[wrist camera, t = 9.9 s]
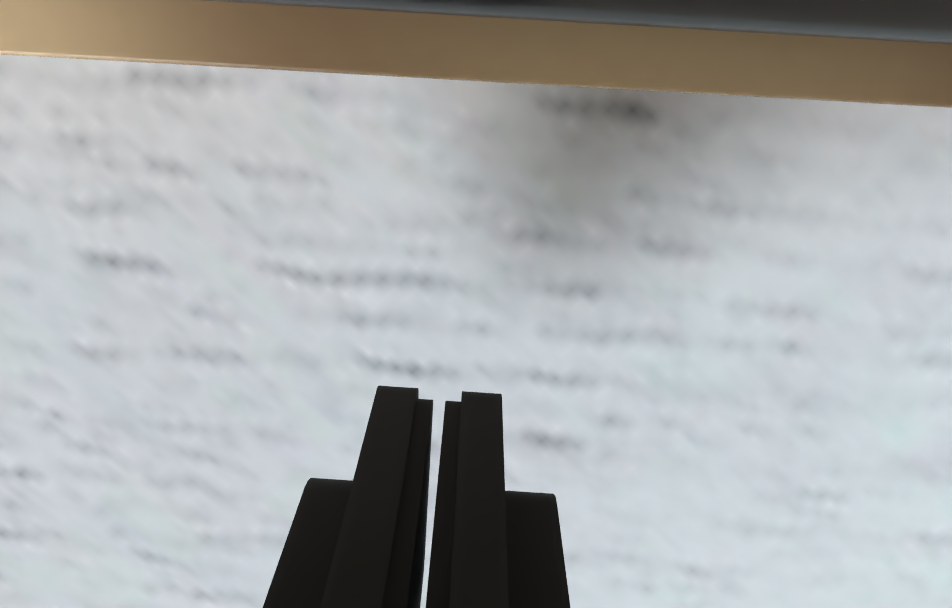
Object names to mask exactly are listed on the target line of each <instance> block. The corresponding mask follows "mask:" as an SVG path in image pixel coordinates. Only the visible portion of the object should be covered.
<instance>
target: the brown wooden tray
mask: <svg viewBox="0 0 952 608" xmlns="http://www.w3.org/2000/svg"><path fill="white" fill-rule="evenodd" d="M0 54H4V55H22V56H40V57H58V58H76V59H94V60H112V61H129V62H147V63H165V64H183V65H201V66H219V67H237V68H254V69H272V70H290V71H308V72H326V73H344V74H362V75H379V76H397V77H415V78H433V79H451V80H469V81H486V82H504V83H522V84H540V85H558V86H576V87H594V88H611V89H629V90H647V91H665V92H683V93H701V94H719V95H736V96H754V97H772V98H790V99H808V100H826V101H843V102H861V103H879V104H897V105H915V106H933V107H951V108H952V0H0Z"/></svg>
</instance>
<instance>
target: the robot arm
mask: <svg viewBox="0 0 952 608" xmlns="http://www.w3.org/2000/svg"><path fill="white" fill-rule="evenodd" d="M432 414H433V400H426V399H418V388H405V387H390V386H378V388H377V391H376V395H375V399H374V402H373V406H372V410H371V414H370V418H369V422H368V425H367V429H366V433H365V437H364V441H363V445H362V448H361V452H360V456H359V460H358V464H357V468H356V472H355V475H354V479H353V481H349V480H334V479H319V478H310V479H309V480H308V482H307V484H306V486H305V488H304V491H303V494H302V497H301V500H300V503H299V505H298V508H297V511H296V514H295V517H294V520H293V523H292V525H291V528H290V531H289V534H288V537H287V540H286V543H285V545H284V548H283V551H282V554H281V557H280V560H279V563H278V565H277V568H276V571H275V574H274V577H273V580H272V583H271V585H270V588H269V591H268V594H267V597H266V600H265V603H264V605H263V608H420V602H421V593H422V583H423V572H424V559H425V542H426V523H427V505H428V487H429V469H430V450H431V432H432ZM426 608H570V602H569V594H568V586H567V579H566V571H565V563H564V555H563V548H562V540H561V532H560V524H559V516H558V509H557V502H556V497H555V495H554V494H547V493H532V492H517V491H505V480H504V450H503V419H502V395H501V394H494V393H479V392H464V391H462V399H461V402H456V401H446V402H445V413H444V423H443V433H442V444H441V454H440V464H439V475H438V485H437V496H436V506H435V516H434V527H433V537H432V548H431V558H430V568H429V579H428V589H427V600H426Z"/></svg>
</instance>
